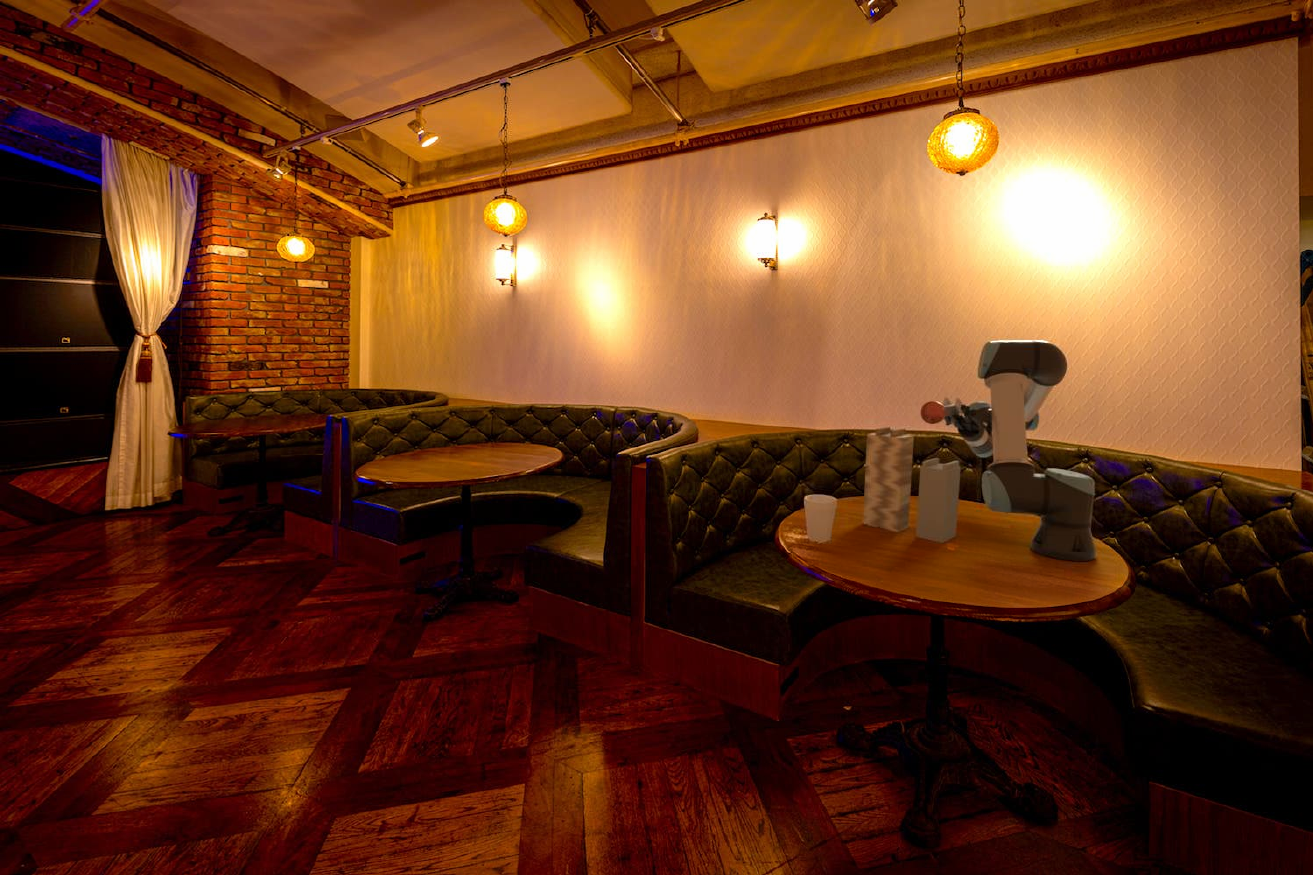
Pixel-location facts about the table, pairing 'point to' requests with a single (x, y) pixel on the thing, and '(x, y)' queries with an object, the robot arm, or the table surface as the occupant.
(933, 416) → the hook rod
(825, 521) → the foam cup
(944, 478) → the tall grey block
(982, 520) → the table surface
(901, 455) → the beige patterned tall block
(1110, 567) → the table surface
